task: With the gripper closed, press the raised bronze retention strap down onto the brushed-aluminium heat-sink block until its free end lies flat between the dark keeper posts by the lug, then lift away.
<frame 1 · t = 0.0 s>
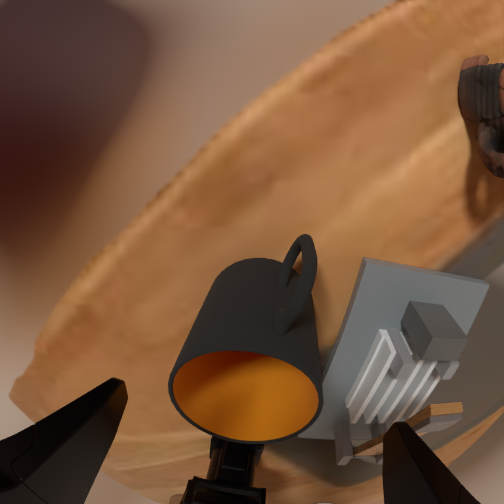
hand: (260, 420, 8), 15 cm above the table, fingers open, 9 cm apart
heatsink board: (387, 371, 25), on the table
strap: (396, 439, 19), point 7 cm above the table, hinge at 20.0°
pottery mug: (492, 116, 16), on the table
mug: (270, 285, 23), on the table
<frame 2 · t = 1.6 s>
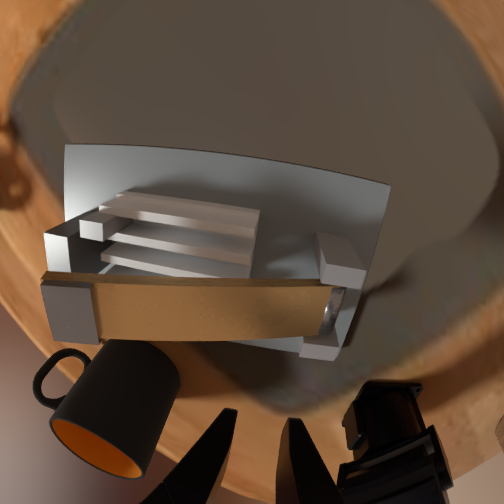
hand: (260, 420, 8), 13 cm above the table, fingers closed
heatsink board: (202, 248, 20), on the table
strap: (199, 312, 13), point 7 cm above the table, hinge at 20.0°
mug: (123, 359, 25), on the table
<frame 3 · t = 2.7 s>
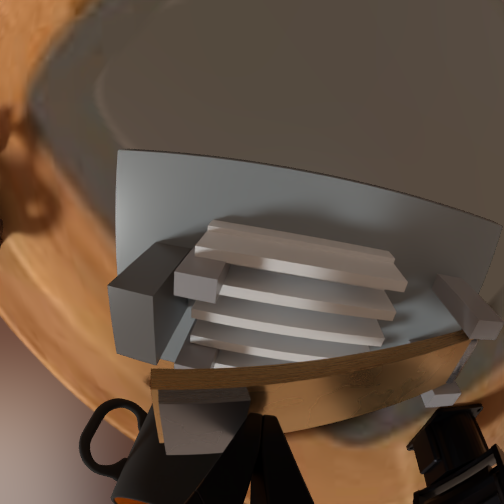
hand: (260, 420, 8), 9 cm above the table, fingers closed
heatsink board: (307, 291, 16), on the table
strap: (362, 389, 10), point 7 cm above the table, hinge at 19.9°, touching gripper
mug: (181, 405, 22), on the table
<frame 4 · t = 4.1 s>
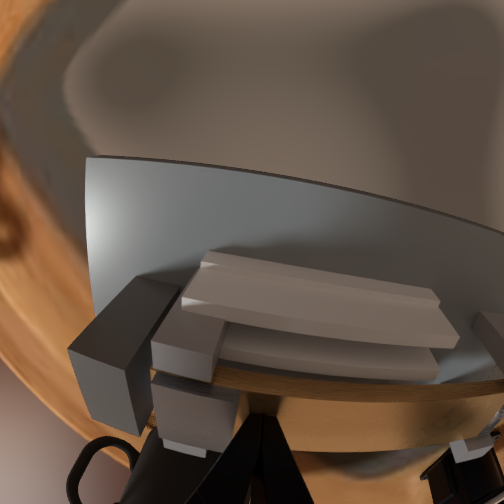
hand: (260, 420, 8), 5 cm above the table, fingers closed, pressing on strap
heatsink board: (328, 334, 13), on the table
strap: (375, 424, 8), point 5 cm above the table, hinge at 0.9°, touching gripper
mug: (177, 443, 18), on the table
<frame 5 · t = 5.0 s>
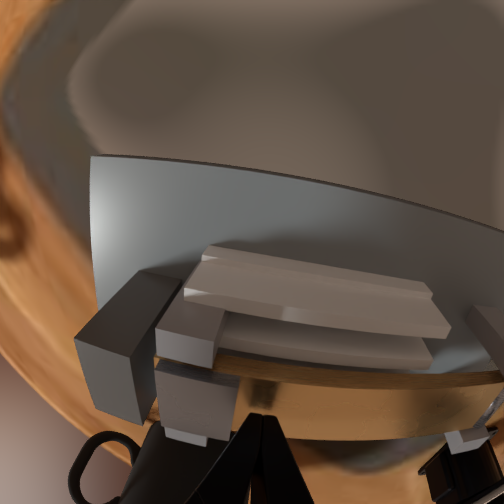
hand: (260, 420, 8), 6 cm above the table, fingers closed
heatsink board: (324, 327, 13), on the table
strap: (370, 412, 9), point 5 cm above the table, hinge at 0.9°
mug: (178, 437, 19), on the table
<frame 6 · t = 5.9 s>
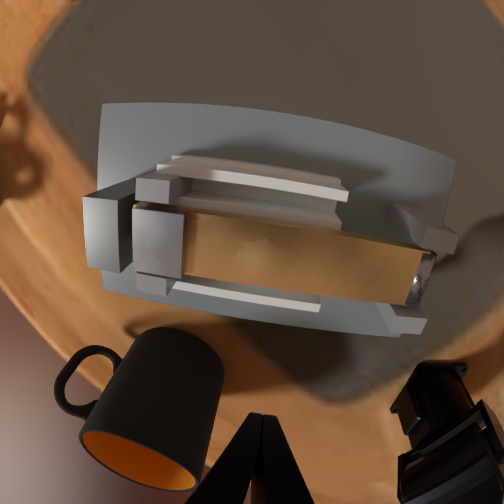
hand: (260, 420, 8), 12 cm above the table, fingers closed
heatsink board: (266, 221, 18), on the table
strap: (290, 258, 13), point 5 cm above the table, hinge at 0.9°
mug: (157, 355, 23), on the table
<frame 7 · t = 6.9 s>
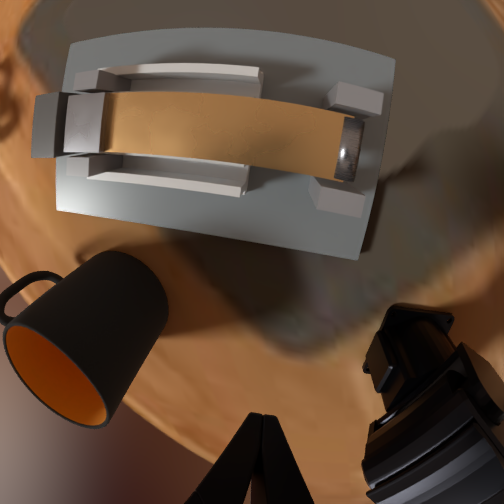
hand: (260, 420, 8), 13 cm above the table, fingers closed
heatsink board: (200, 127, 17), on the table
strap: (197, 125, 12), point 5 cm above the table, hinge at 0.9°
mug: (105, 287, 22), on the table
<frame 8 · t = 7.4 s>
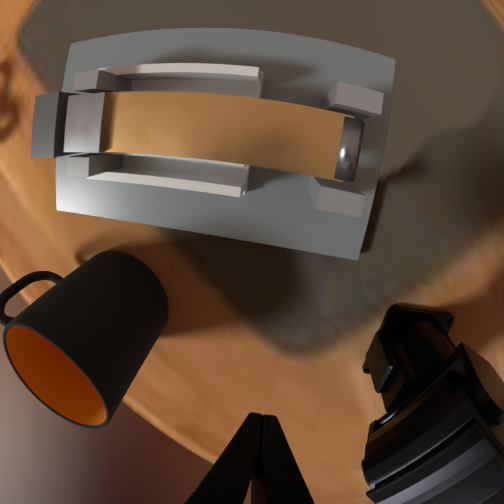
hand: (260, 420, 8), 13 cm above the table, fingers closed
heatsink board: (200, 127, 17), on the table
strap: (197, 125, 12), point 5 cm above the table, hinge at 0.9°
mug: (105, 287, 22), on the table
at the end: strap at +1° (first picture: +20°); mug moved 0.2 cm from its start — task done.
